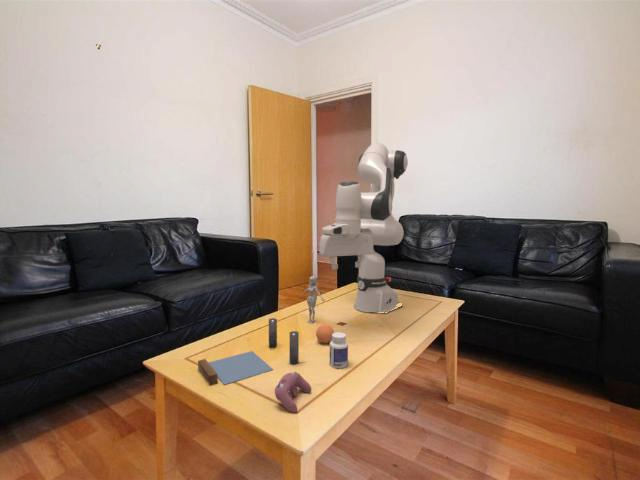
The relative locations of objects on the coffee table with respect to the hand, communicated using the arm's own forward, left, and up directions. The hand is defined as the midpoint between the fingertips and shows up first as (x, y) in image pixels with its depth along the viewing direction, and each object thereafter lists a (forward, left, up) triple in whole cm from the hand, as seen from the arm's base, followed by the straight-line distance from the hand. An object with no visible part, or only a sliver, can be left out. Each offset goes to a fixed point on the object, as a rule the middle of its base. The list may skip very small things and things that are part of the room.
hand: (346, 268), depth 120 cm
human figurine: (+4, -15, -24) cm, 28 cm away
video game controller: (+37, +25, -24) cm, 50 cm away
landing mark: (+41, +3, -23) cm, 47 cm away
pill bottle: (+17, +17, -24) cm, 34 cm away
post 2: (+27, +9, -23) cm, 37 cm away
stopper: (+50, +3, -23) cm, 55 cm away
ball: (+11, +3, -20) cm, 23 cm away
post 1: (+27, -4, -23) cm, 36 cm away
